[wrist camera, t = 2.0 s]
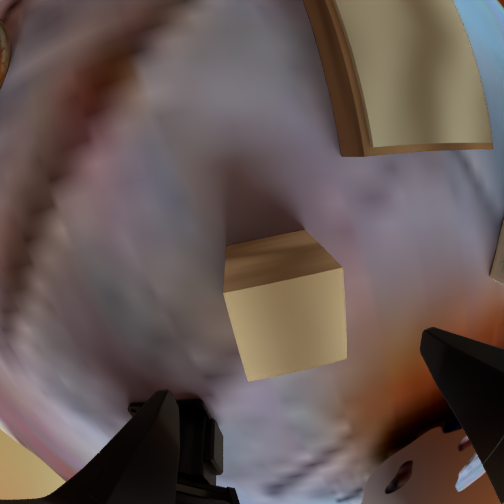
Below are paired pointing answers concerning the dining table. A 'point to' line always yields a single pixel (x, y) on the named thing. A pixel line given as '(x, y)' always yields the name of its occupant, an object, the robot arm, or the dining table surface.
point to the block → (285, 304)
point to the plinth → (400, 76)
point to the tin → (4, 51)
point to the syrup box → (499, 260)
